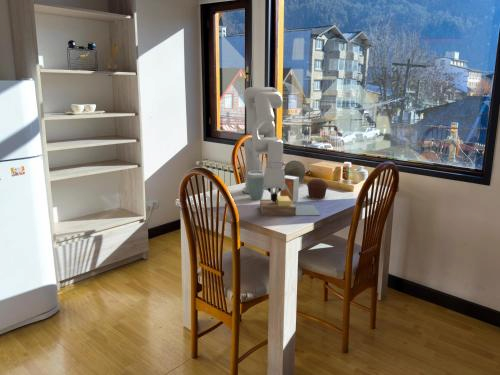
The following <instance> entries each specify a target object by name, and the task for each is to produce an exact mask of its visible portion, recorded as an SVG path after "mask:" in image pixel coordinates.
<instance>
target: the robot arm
mask: <svg viewBox="0 0 500 375" xmlns="http://www.w3.org/2000/svg"><path fill="white" fill-rule="evenodd" d="M243 101H244V105H245V108H246V132H247V134H248V135H250V136H251V137H249V138H246V139H245V140H244V142H243V146H244V147H243V149H244V155H245V175H246V174H247V173H248V172H249V171H253V170H259V171H263V162H262V158H260V157H259V155H267V160H266V166H265V167H264V188H263V193H265V191H268V192H269V193H270V199H271V200H272V202H276V200H277V196H278V194H280V191H281V190H285V173H284V169H285V166H286V164H287V162H284V142H283V140H282V139H281V138H280V137H277V136H276V125H275V121H274V120H275V113H274V109H280V108H281V107H282V105H283V96H282V93H281V92H280V91H279V90H278V89H277V88H275V87H273V86H272V87H271V86H249V87H246V88H245V89H244V91H243ZM274 189H275V190H274ZM242 192H243V194H248V195H250V193H249V187H248V180H247V177H246V176H245V186H244V188H243V189H242Z"/></svg>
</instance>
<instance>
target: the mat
mask: <svg viewBox="0 0 500 375" xmlns="http://www.w3.org/2000/svg"><path fill="white" fill-rule="evenodd" d="M294 205H295V207H296V215H295V216H296V217H297V216H298V217H303V216H304V217H306V216H319V217H320V216H321V213H320V212H319V211H318V209H317V208H316V207H315V205H313V204H311V205H310V204H308V205H307V204H305V205H304V204H303V205H301V204H300V205H296V204H294Z"/></svg>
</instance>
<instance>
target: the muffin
mask: <svg viewBox="0 0 500 375" xmlns="http://www.w3.org/2000/svg"><path fill="white" fill-rule="evenodd" d="M306 186H307V190H308V191H307V192H308V197H309V198H312V199H315V200H316V199H317V200H318V199H319V200H320V199H324V198H325V197H326V194H327V189H328V186H329V185H328V183H327V181H325V180H324V179H321V178H313V179H311V180H309V181H308V183H307V184H306Z"/></svg>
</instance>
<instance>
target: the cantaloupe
mask: <svg viewBox="0 0 500 375" xmlns="http://www.w3.org/2000/svg"><path fill="white" fill-rule="evenodd" d="M284 173H285V176H286V175H287V176H294V177H299V183H300V182H302V181H303V180H304V179H305V177H306V167H305V164H304V163H303V162H301V161H300V160H299V161H298V160H290V161H289V162H286V165H284Z"/></svg>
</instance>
